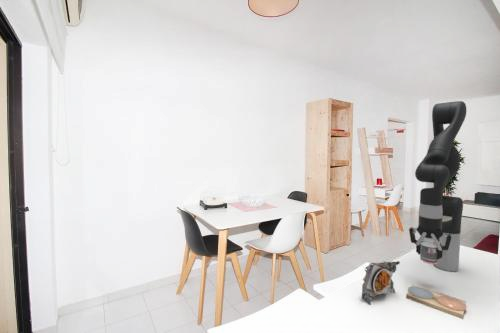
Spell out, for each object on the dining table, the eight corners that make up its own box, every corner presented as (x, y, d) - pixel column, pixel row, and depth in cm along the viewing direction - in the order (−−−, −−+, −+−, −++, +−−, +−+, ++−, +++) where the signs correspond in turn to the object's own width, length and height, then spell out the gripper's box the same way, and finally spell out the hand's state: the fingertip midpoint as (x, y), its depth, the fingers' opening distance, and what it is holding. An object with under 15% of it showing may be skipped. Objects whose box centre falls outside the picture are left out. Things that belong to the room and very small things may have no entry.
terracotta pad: (438, 293, 92) (438, 293, 92) (467, 303, 86) (467, 302, 86) (435, 303, 86) (435, 302, 86) (465, 314, 81) (465, 313, 81)
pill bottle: (440, 265, 96) (441, 240, 95) (424, 264, 97) (425, 239, 96) (432, 258, 101) (433, 234, 100) (417, 257, 102) (418, 234, 101)
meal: (371, 306, 87) (372, 270, 86) (361, 299, 91) (362, 265, 90) (399, 295, 93) (400, 261, 92) (388, 289, 97) (389, 257, 96)
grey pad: (410, 284, 98) (410, 283, 98) (435, 292, 93) (435, 292, 93) (405, 293, 92) (405, 292, 92) (431, 302, 87) (431, 301, 87)
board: (412, 287, 99) (412, 284, 99) (465, 304, 87) (465, 301, 87) (406, 297, 92) (406, 294, 91) (462, 318, 80) (463, 315, 80)
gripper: (455, 216, 95) (453, 258, 96) (411, 209, 105) (410, 248, 106) (452, 221, 89) (450, 265, 91) (406, 213, 100) (405, 254, 101)
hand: (428, 255), depth 99 cm, fingers closed on pill bottle, 5 cm apart
